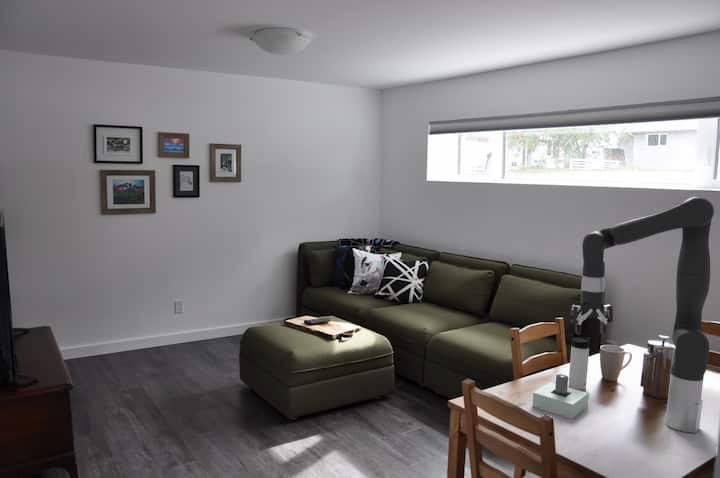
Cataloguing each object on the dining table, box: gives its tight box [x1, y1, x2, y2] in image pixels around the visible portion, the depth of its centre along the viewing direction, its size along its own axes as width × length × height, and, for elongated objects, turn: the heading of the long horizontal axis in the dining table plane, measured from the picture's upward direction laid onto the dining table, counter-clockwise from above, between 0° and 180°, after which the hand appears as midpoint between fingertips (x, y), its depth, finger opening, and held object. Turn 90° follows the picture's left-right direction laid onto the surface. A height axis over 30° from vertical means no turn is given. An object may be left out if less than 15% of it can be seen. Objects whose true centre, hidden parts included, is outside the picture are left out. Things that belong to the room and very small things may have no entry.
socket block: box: [532, 381, 589, 420], centre depth 195 cm, size 14×14×5 cm
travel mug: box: [568, 336, 592, 392], centre depth 211 cm, size 6×7×20 cm
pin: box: [555, 373, 569, 397], centre depth 195 cm, size 4×4×10 cm
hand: (590, 334), depth 195 cm, fingers open, 8 cm apart
